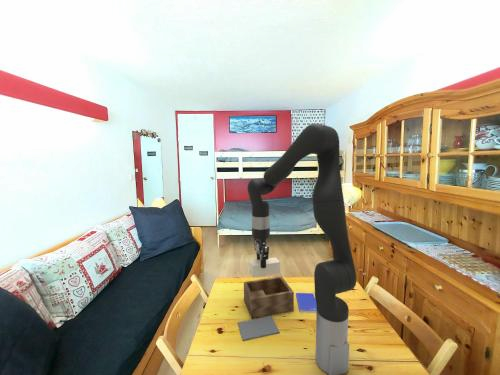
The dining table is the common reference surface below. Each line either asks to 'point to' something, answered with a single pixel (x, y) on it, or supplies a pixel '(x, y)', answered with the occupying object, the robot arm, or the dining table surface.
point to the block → (270, 269)
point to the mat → (257, 328)
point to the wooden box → (268, 297)
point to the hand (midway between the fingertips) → (261, 264)
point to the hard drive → (306, 302)
